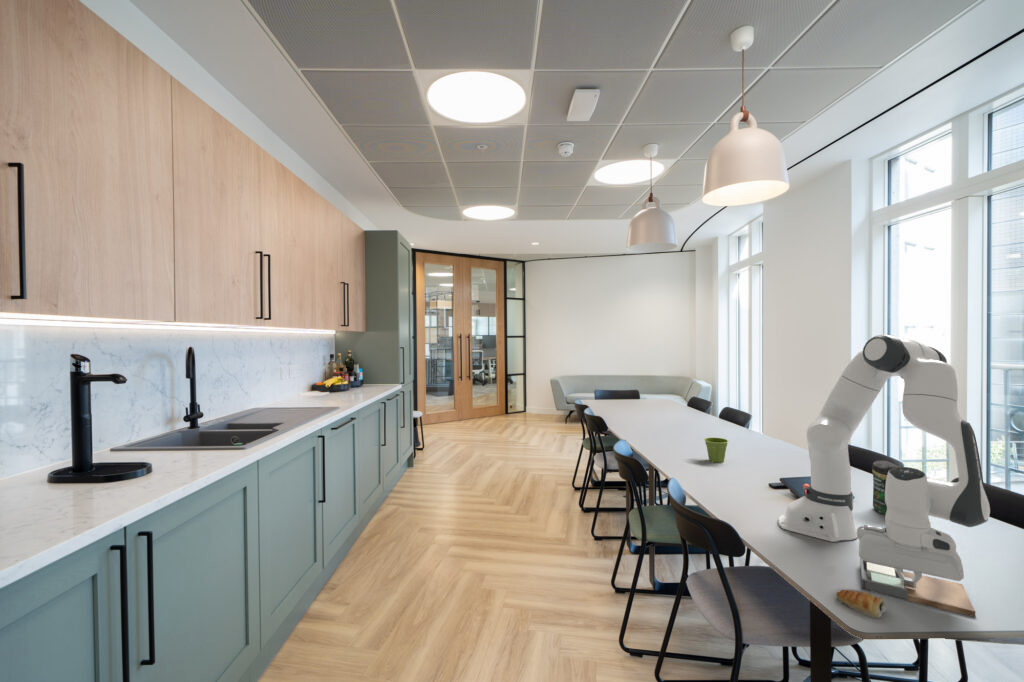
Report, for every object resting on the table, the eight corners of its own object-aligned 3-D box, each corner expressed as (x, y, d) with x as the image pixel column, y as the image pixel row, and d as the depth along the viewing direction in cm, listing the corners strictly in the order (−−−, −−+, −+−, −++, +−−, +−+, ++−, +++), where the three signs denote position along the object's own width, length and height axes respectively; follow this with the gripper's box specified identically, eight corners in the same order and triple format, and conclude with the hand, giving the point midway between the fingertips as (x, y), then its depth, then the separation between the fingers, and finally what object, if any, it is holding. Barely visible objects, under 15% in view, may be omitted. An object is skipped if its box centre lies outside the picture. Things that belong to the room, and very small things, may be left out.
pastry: (832, 603, 113) (832, 588, 113) (841, 593, 117) (841, 579, 117) (879, 621, 105) (879, 605, 105) (887, 610, 110) (887, 595, 110)
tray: (862, 589, 118) (862, 579, 118) (860, 566, 129) (860, 557, 129) (907, 600, 113) (907, 590, 113) (901, 575, 124) (901, 566, 124)
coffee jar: (868, 507, 172) (867, 458, 172) (892, 508, 171) (891, 459, 170) (884, 517, 163) (883, 465, 162) (909, 518, 161) (908, 466, 161)
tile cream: (867, 576, 123) (867, 569, 123) (866, 568, 127) (866, 561, 127) (895, 583, 120) (895, 576, 120) (894, 575, 124) (894, 568, 124)
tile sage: (872, 588, 118) (872, 580, 118) (870, 579, 122) (870, 572, 122) (902, 595, 114) (902, 587, 114) (899, 586, 119) (899, 578, 119)
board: (907, 600, 113) (907, 595, 113) (901, 575, 124) (901, 570, 124) (975, 616, 106) (975, 611, 106) (962, 588, 117) (962, 584, 117)
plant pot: (701, 461, 237) (701, 440, 237) (708, 456, 246) (708, 436, 246) (725, 465, 229) (725, 443, 229) (731, 460, 238) (731, 439, 238)
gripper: (857, 527, 119) (858, 579, 119) (965, 547, 107) (965, 605, 107) (856, 519, 124) (857, 569, 124) (959, 537, 112) (960, 592, 113)
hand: (908, 586), depth 116 cm, fingers closed
